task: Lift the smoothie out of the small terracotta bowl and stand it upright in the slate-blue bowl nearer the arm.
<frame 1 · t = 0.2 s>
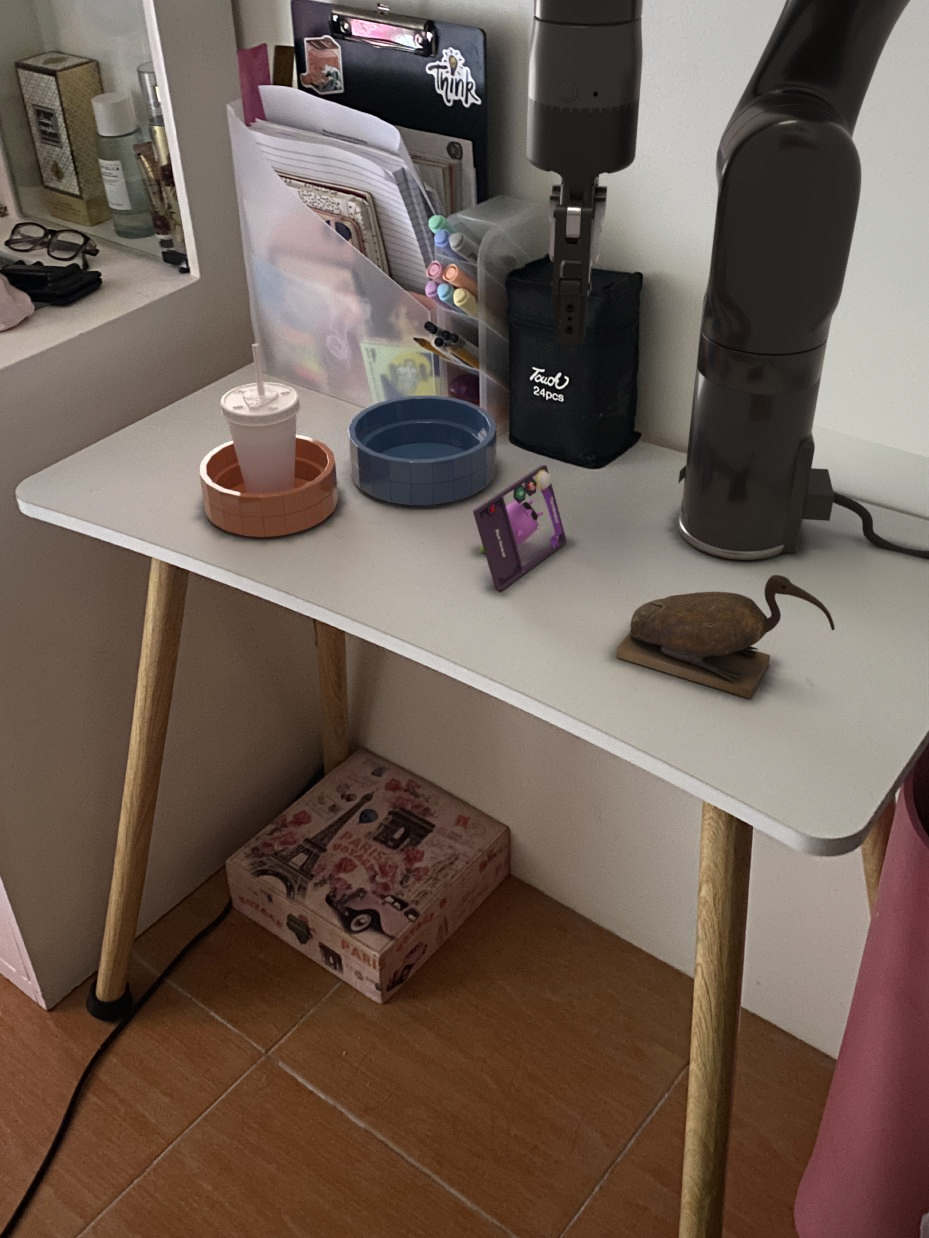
hand: (572, 321, 91), 18 cm above the table, tool pointing down, fingers open, 8 cm apart
purple framed piece: (510, 559, 97), on the table
blue bowl: (423, 473, 109), on the table
smoothie: (272, 504, 104), resting on terracotta bowl
figurine: (720, 672, 85), on the table
terracotta bowl: (272, 505, 104), on the table
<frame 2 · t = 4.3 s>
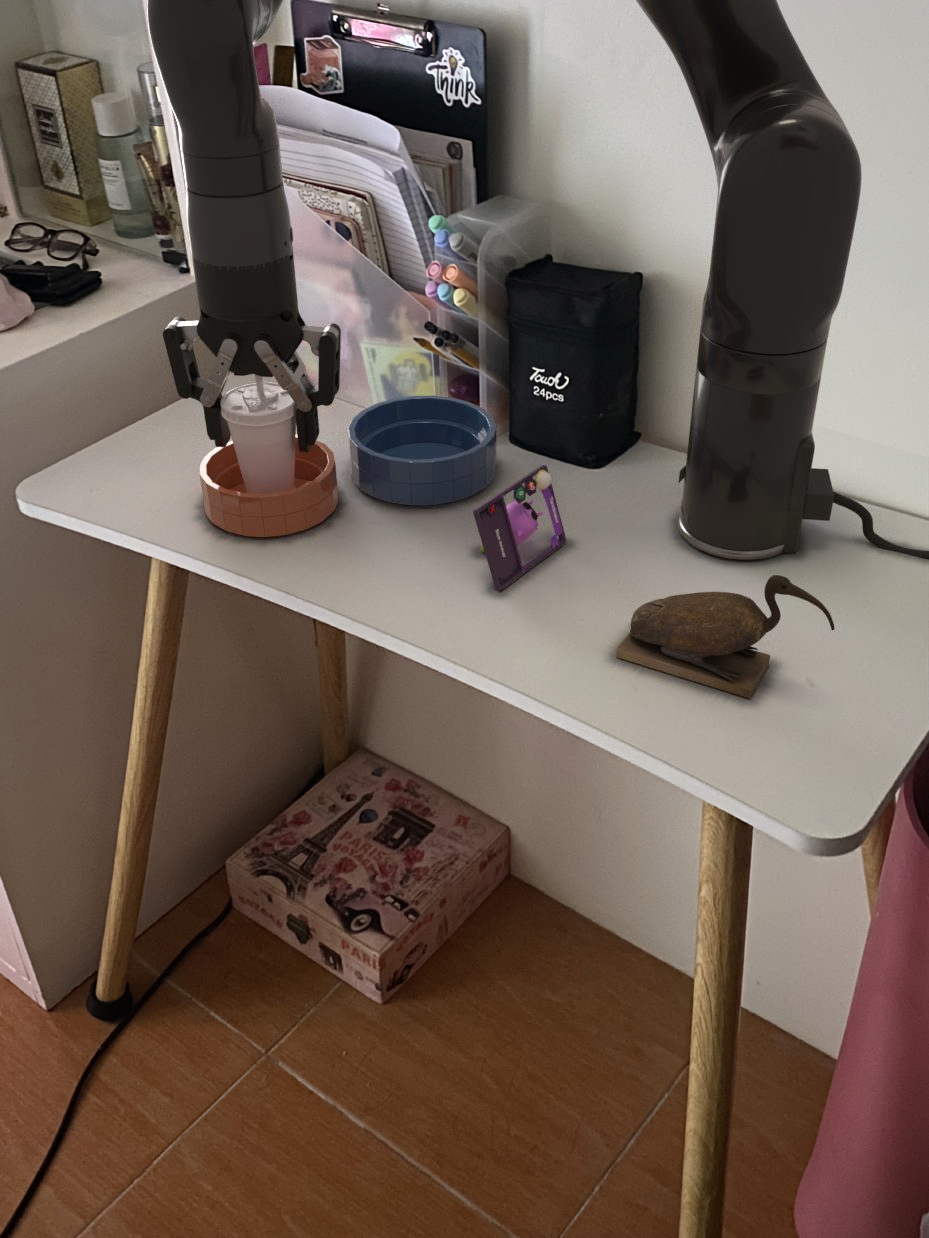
hand: (265, 444, 101), 6 cm above the table, tool pointing down, fingers closed on smoothie, 6 cm apart
smoothie: (272, 504, 104), resting on terracotta bowl, touching gripper
everything else where it was.
when the fingers open (6 cm above the table, at t = 10.6 s): smoothie stays where it is, resting on blue bowl.
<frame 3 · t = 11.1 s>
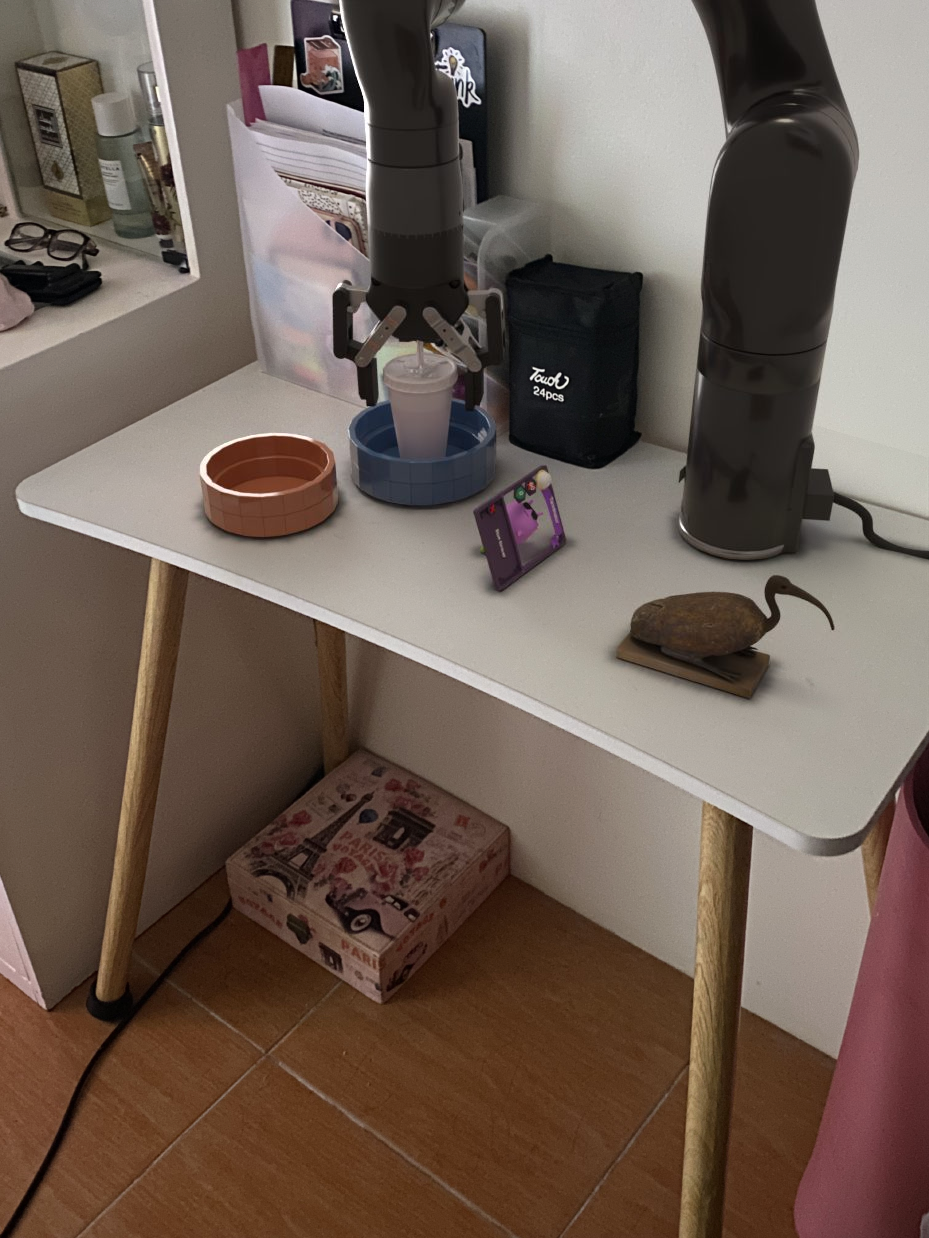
hand: (421, 405, 105), 7 cm above the table, tool pointing down, fingers open, 8 cm apart
smoothie: (423, 470, 109), resting on blue bowl
everything else where it was.
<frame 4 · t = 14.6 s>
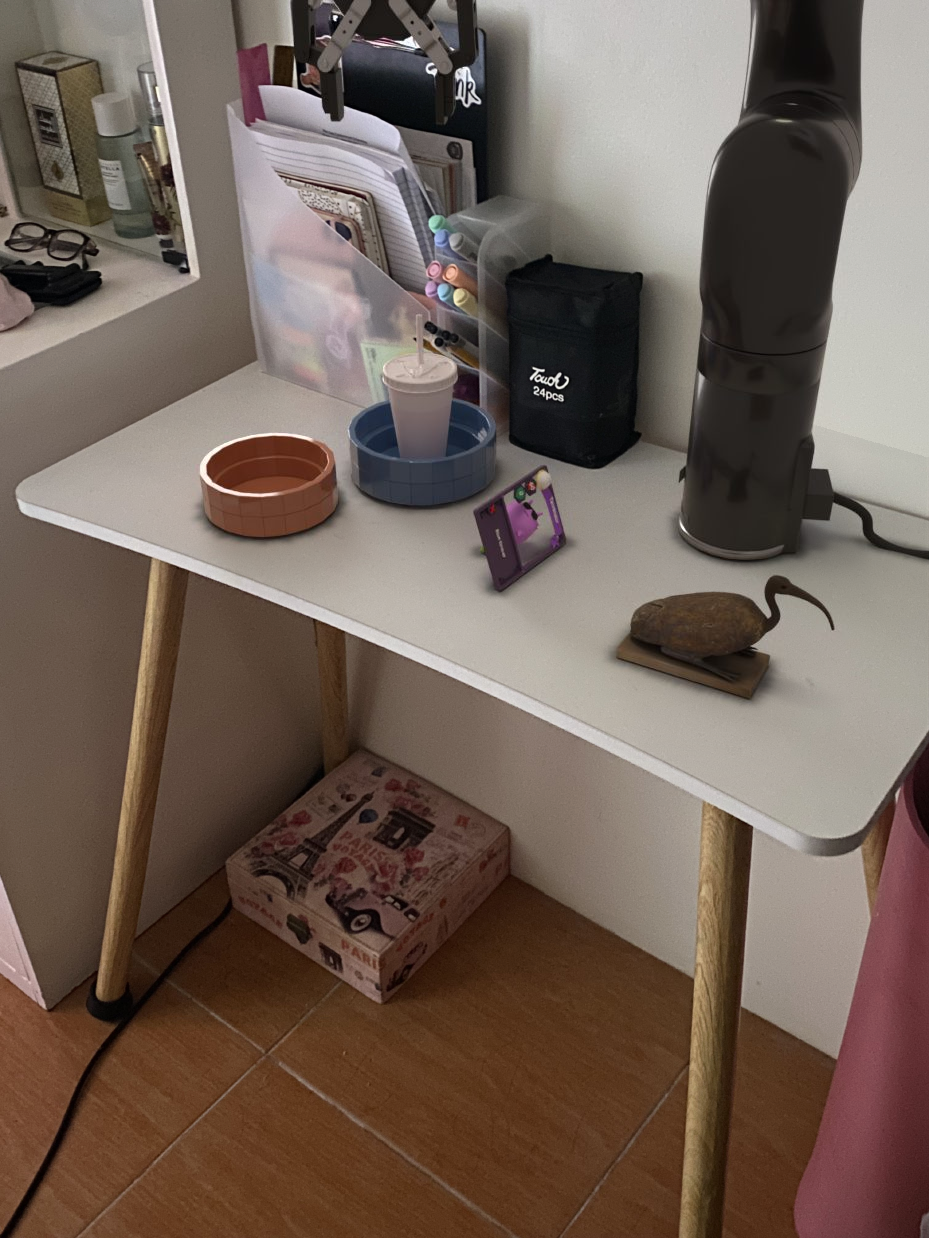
hand: (389, 121, 98), 28 cm above the table, tool pointing down, fingers open, 8 cm apart
nothing on the table moved.
at the end: smoothie 0.0 cm off-centre in the blue bowl, point 0.2 cm above the blue bowl's base; smoothie tilted 0°; the gripper is holding nothing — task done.
